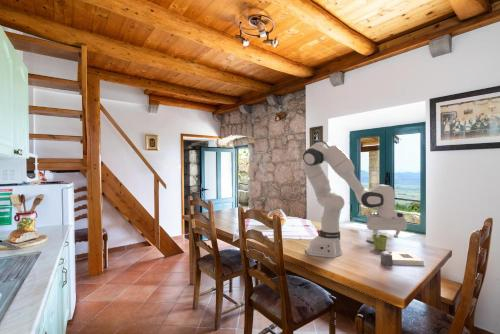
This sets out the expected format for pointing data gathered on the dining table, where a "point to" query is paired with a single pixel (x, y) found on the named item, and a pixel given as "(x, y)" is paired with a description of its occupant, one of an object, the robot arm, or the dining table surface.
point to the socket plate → (405, 258)
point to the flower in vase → (370, 236)
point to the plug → (386, 258)
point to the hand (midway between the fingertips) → (386, 237)
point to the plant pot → (380, 242)
